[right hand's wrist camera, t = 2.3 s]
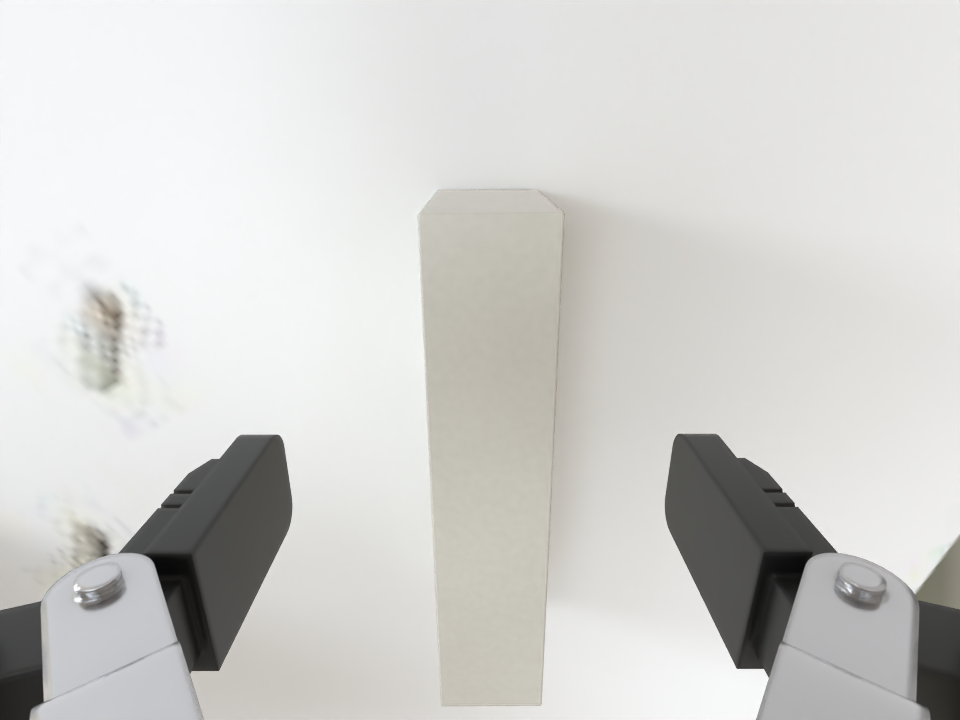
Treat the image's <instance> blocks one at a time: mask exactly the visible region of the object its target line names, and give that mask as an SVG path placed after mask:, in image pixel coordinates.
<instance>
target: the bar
mask: <svg viewBox="0 0 960 720" xmlns="http://www.w3.org/2000/svg"><path fill="white" fill-rule="evenodd" d="M418 232H419V253H420V274H421V295H422V316H423V337H424V359H425V380H426V401H427V422H428V443H429V464H430V485H431V506H432V527H433V548H434V569H435V590H436V611H437V633H438V654H439V675H440V696H441V705H442V706H540V705H541V704H542V685H543V664H544V642H545V621H546V599H547V578H548V556H549V535H550V513H551V492H552V470H553V449H554V427H555V406H556V384H557V363H558V341H559V320H560V299H561V277H562V256H563V234H564V212H562V211H561V210H560V209H559V208H558V207H557V206H556V205H554V204H553V203H552V202H551V201H550V200H549V199H547V198H546V197H545V196H544V195H543V194H542V193H541V192H539V191H538V190H537V189H508V190H438V191H437V192H436V193H435V194H434V196H433V197H432V198H431V199H430V200H429V202H428V203H427V204H426V205H425V206H424V208H423V209H422V210H421V211H420V212H419V214H418Z"/></svg>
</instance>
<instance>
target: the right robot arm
mask: <svg viewBox="0 0 960 720" xmlns="http://www.w3.org/2000/svg"><path fill="white" fill-rule="evenodd" d="M665 514H666V520H667V525H668V528H669V530H670V533H671V535H672V537H673V539H674V541H675V543H676V545H677V547H678V549H679V551H680V553H681V555H682V557H683V559H684V561H685V563H686V565H687V567H688V569H689V572H690V574H691V576H692V578H693V580H694V582H695V584H696V586H697V588H698V590H699V592H700V594H701V596H702V598H703V600H704V602H705V604H706V606H707V608H708V610H709V613H710V615H711V617H712V619H713V621H714V623H715V625H716V627H717V629H718V631H719V633H720V635H721V637H722V639H723V641H724V643H725V645H726V647H727V649H728V651H729V654H730V656H731V658H732V660H733V662H734V664H735V666H736V668H737V669H764V670H765V671H766V673H767V675H768V677H769V680H768V683H767V686H766V690H765V693H764V696H763V699H762V703H761V706H760V709H759V712H758V715H757V719H756V720H960V610H959V609H955V608H950V607H945V606H941V605H936V604H932V603H927V602H923V601H918V600H917V598H916V596H915V594H914V593H913V591H912V590H911V589H910V588H909V587H908V586H907V585H906V584H905V583H904V582H903V581H902V580H901V579H900V578H898V577H897V576H896V575H894V574H893V573H891V572H890V571H888V570H886V569H885V568H883V567H881V566H879V565H877V564H875V563H873V562H870V561H868V560H865V559H862V558H859V557H856V556H852V555H847V554H840V553H837V551H836V550H835V549H834V548H833V547H832V546H831V545H830V543H829V542H828V541H827V540H826V539H825V538H824V536H823V535H822V534H821V533H820V532H819V531H818V530H817V528H816V527H815V526H814V525H813V524H812V523H811V522H810V520H809V519H808V518H807V517H806V516H805V515H804V514H803V512H802V511H801V510H800V509H799V508H798V507H795V503H794V502H793V501H792V500H791V499H790V497H789V496H788V495H787V494H786V493H783V492H782V488H781V487H780V486H779V485H778V484H777V483H776V481H775V480H774V479H773V478H772V477H771V476H770V474H769V473H768V472H766V471H765V470H763V469H761V468H760V467H758V466H757V465H755V464H753V463H752V462H750V461H749V460H747V459H745V458H736V456H735V455H734V454H733V453H732V451H731V450H730V449H729V448H728V446H727V445H726V444H725V443H724V442H723V440H722V439H721V438H720V437H719V436H718V435H717V434H678V435H677V436H676V437H675V439H674V443H673V448H672V455H671V462H670V469H669V476H668V483H667V490H666V496H665ZM291 517H292V496H291V489H290V483H289V476H288V469H287V462H286V455H285V448H284V443H283V440H282V438H281V437H280V436H279V435H240V436H238V437H237V438H236V440H235V441H234V442H233V443H232V445H231V446H230V447H229V448H228V449H227V451H226V452H225V453H224V454H223V455H222V457H221V458H220V459H211V460H210V461H208V462H206V463H205V464H203V465H202V466H200V467H198V468H197V469H195V470H194V471H192V472H190V473H189V474H188V475H187V476H186V477H185V478H184V479H183V481H182V482H181V483H180V484H179V485H178V486H177V487H176V489H175V490H174V494H170V495H169V497H168V498H167V499H166V500H165V501H164V502H163V503H162V504H161V508H158V509H157V510H156V511H155V512H154V514H153V515H152V516H151V517H150V518H149V519H148V520H147V522H146V523H145V524H144V525H143V526H142V527H141V528H140V530H139V531H138V532H137V533H136V534H135V535H134V536H133V537H132V539H131V540H130V541H129V542H128V543H127V544H126V545H125V547H124V548H123V549H122V550H121V551H120V552H119V553H118V554H113V555H108V556H104V557H101V558H98V559H95V560H92V561H90V562H87V563H85V564H83V565H81V566H79V567H77V568H75V569H74V570H72V571H70V572H69V573H67V574H66V575H64V576H63V577H62V578H60V579H59V580H58V581H57V582H56V583H55V584H54V585H53V586H52V587H51V588H50V589H49V590H48V591H47V593H46V594H45V596H44V598H43V600H42V601H40V602H36V603H32V604H27V605H23V606H18V607H14V608H9V609H5V610H0V720H204V719H203V715H202V712H201V709H200V706H199V703H198V699H197V696H196V693H195V690H194V686H193V683H192V680H191V677H190V673H191V671H219V670H220V668H221V666H222V664H223V661H224V659H225V657H226V655H227V653H228V651H229V649H230V647H231V645H232V643H233V641H234V639H235V637H236V635H237V633H238V631H239V629H240V627H241V625H242V623H243V621H244V619H245V617H246V615H247V613H248V611H249V609H250V607H251V605H252V603H253V601H254V599H255V597H256V595H257V593H258V591H259V589H260V587H261V585H262V583H263V580H264V578H265V576H266V574H267V572H268V570H269V568H270V566H271V564H272V562H273V560H274V558H275V556H276V554H277V552H278V550H279V548H280V546H281V544H282V542H283V540H284V538H285V536H286V534H287V532H288V529H289V526H290V522H291Z"/></svg>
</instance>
